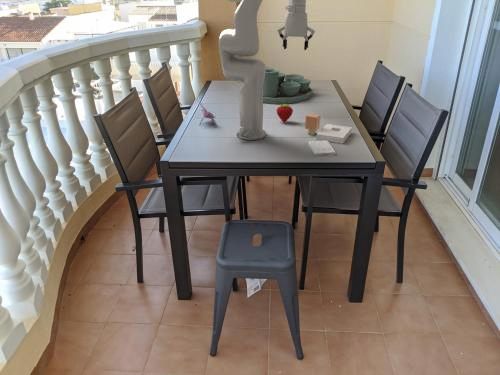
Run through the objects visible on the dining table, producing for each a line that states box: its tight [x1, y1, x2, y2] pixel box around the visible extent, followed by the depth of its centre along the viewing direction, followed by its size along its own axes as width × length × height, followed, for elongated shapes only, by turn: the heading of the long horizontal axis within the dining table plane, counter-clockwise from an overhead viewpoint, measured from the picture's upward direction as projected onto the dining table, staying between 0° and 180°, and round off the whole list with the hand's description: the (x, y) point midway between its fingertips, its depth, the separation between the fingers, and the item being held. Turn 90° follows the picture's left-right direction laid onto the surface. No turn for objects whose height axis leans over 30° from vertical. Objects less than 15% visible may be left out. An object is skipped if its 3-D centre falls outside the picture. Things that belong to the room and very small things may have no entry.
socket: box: [315, 123, 353, 145], centre depth 169 cm, size 14×11×2 cm
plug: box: [304, 113, 321, 136], centre depth 171 cm, size 4×5×8 cm
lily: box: [198, 102, 217, 125], centre depth 184 cm, size 12×12×10 cm
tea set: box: [263, 65, 313, 105], centre depth 227 cm, size 40×40×16 cm
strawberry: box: [276, 103, 294, 123], centre depth 184 cm, size 6×8×10 cm
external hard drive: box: [307, 140, 337, 156], centre depth 158 cm, size 2×8×12 cm
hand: (295, 49), depth 190 cm, fingers open, 9 cm apart
